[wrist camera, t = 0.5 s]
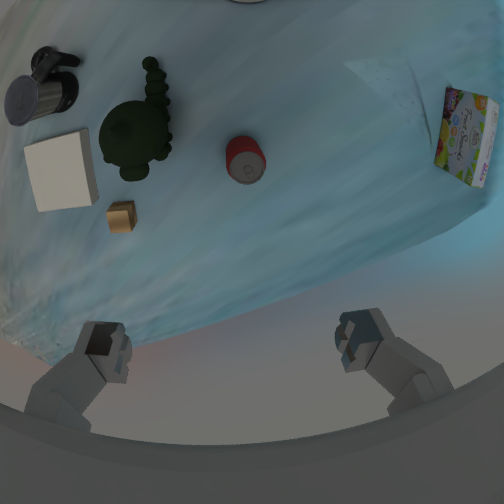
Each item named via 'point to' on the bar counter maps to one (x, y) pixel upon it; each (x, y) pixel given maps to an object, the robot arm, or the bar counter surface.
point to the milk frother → (42, 88)
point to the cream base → (62, 171)
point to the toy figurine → (138, 128)
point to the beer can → (245, 160)
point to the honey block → (121, 217)
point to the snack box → (467, 136)
